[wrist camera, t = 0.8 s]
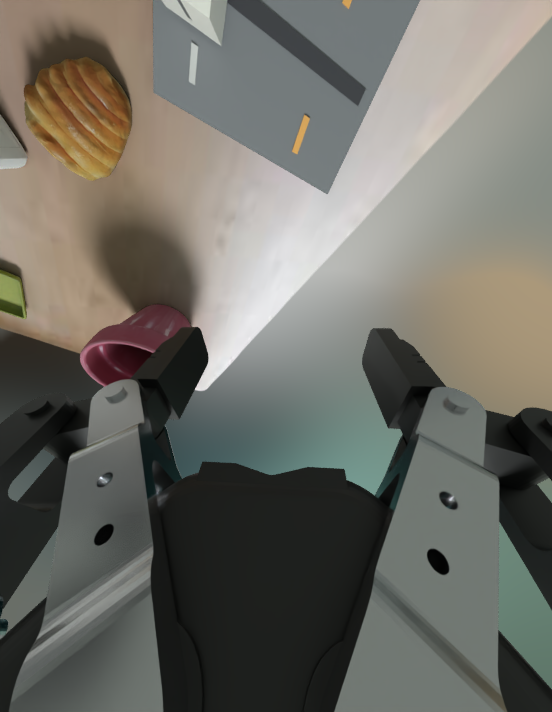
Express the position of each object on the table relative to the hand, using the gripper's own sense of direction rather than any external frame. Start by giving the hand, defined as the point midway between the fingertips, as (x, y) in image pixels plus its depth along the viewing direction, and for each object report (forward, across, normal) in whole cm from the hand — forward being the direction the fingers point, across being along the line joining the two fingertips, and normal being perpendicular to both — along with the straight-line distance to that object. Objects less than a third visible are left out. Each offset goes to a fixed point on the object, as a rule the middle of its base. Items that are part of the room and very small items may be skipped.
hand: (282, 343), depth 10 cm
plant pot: (+25, +24, +13) cm, 37 cm away
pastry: (+22, +21, -12) cm, 33 cm away
